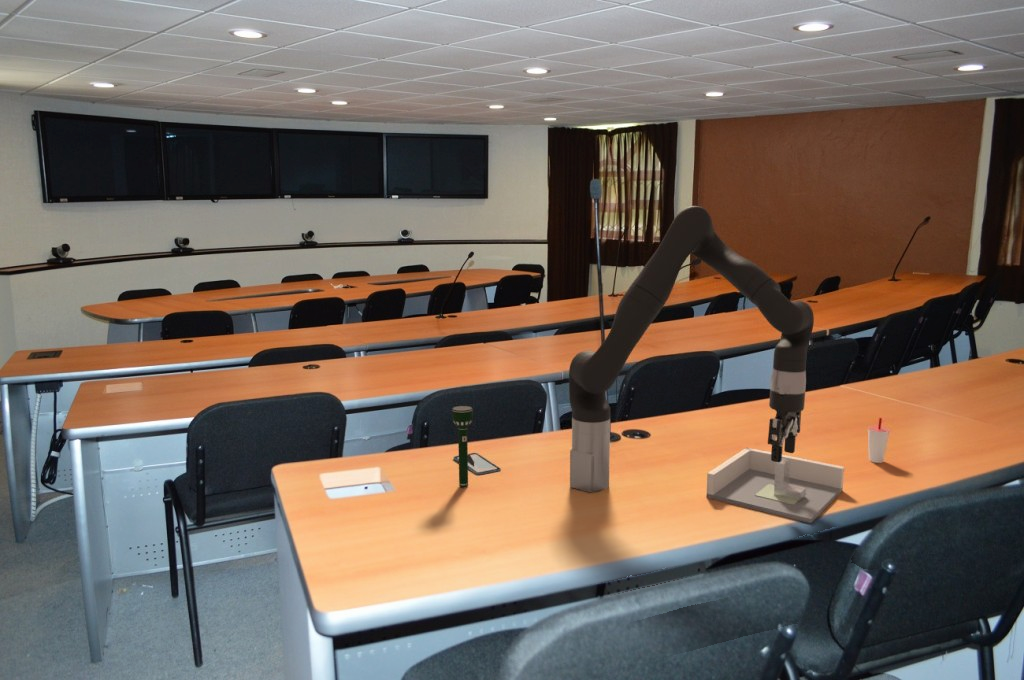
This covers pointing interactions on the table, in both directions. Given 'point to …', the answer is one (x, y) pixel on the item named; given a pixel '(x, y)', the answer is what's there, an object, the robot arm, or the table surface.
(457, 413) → the flashlight
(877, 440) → the cup
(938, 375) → the table surface
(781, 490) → the bracket
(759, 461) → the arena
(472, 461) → the smartphone
